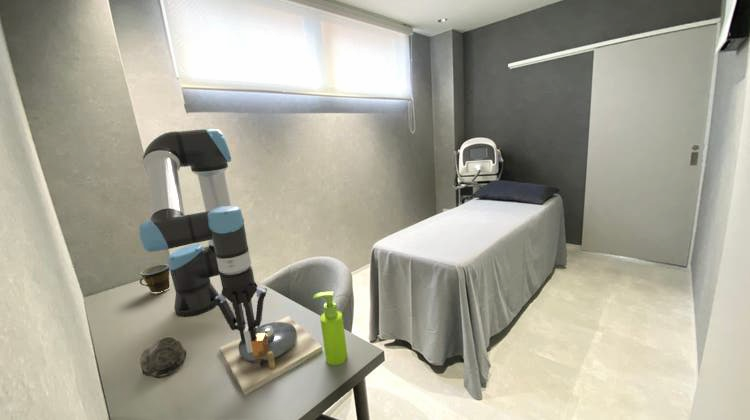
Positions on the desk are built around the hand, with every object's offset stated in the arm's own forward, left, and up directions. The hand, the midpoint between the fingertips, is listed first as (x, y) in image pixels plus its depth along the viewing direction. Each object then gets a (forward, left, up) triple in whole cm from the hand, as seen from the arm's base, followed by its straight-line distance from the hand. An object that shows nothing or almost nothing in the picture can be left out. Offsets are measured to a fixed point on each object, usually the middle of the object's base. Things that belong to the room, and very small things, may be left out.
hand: (251, 348), depth 85 cm
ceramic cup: (-76, -15, -6) cm, 78 cm away
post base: (-3, +6, -6) cm, 9 cm away
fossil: (-19, -19, -6) cm, 27 cm away
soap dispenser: (+13, +18, -6) cm, 23 cm away
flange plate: (-3, +5, -3) cm, 7 cm away
